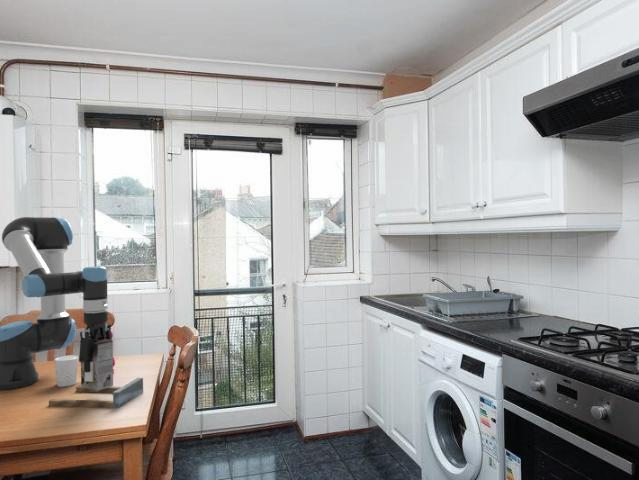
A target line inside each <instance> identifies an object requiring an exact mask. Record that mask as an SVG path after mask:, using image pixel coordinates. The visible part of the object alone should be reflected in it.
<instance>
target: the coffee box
mask: <svg viewBox="0 0 639 480" xmlns="http://www.w3.org/2000/svg"><path fill="white" fill-rule="evenodd" d="M79 342H81V340H80V341H79ZM113 342H114V340H113V339H112V340H109V339H98V340H97V342H94V343H92V345H93V356H92V361H91V362H93V372H94V381H92V382H89V381H85V372H84V362H80V378H81V379H80V381H81V382H80V386H81V387H83V388H88V389H92V390H96V391H99V390H102V389H105V388H108V387H114V374H113V369H114V367H113V357H114V354H113V353H114V348H113V347H114V346H113V345H114V343H113Z"/></svg>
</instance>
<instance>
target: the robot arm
mask: <svg viewBox="0 0 639 480" xmlns="http://www.w3.org/2000/svg"><path fill="white" fill-rule="evenodd" d="M73 239H74V234H73V228H72V226H71V224H70V222H69V221H68V220H67V219H66V218H62V217H41V216H40V217H39V216H38V217H34V216H33V217H32V216H24V217H19V218H16V219H14V220H12V221H10V222H9V223H7V225H6V226H5V227H4V229H3V231H2V233H1V241H2V244H3V246H4V248H5V249H7V251H9V252H11V254H12V256H13V258H14V259H15V261H16V263H17V264H18V265H17V266H18V267H19V269H20V270H21V272H22V274H23V276H24V277H23V278H22V283H21V284H22V285H21V289H22V293H23V295H24V296H25V297H26V298H40V314H39V315H38V316H37V317H36V323H35V322H34V323H33V321H31V320H19V321H14V322H10V323H6V324H4V325H2V326H0V390H1V391H3V390H12V389H20V388H23V387H27V386H30V385H32V384H35V383H37V382H39V379H40V378H39V373H38V371H37V368H36V366H35V364H34V354H35V353H43V352H47V351H52V350H61V349H64V348H68V347H69V346H71V345H72V344H73V342H74V341H75V338H76V332H77V325H76V321H75V320H74V319H73V318H71V317H70V314H69V312H67V311H66V295H70V294H71V295H72V294H82V301H83V304H82V310H83V312H84V313H83V324H85V325H86V328H85V331H80V332H79V336H80V341H81V342H80V341H79V342H80V343H79V355H78V363H79V362H80V363H81V362H84V372H85V381H89V382H92V381H94V372H93V362H91V361H92V356H93V345H92V343H94V342H97V340H98V339H109V340H113V337H112V338H111V332H112V325H111V324H106V323H107V322H108V321H109V312H108V311H107V310H108V309H109V308H108V270H107V268H106V266H86V267H84V268H83V269H82V271H81V270H80V271H75V272H65V262H64V260H65V259H64V254H65V253H66V252H67V251H68V249H69V248H68V247H69V246H71V245H72V244H73Z"/></svg>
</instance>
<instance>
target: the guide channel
mask: <svg viewBox="0 0 639 480" xmlns="http://www.w3.org/2000/svg"><path fill="white" fill-rule="evenodd" d="M75 392H77V393H80V392H81V393H108V394H109V393H111V394H112V400H99V399H97V400H93V399H91V400H90V399H59V398H58V399H57V398H52V399H50V400H48V407H80V408H109V409H110V408H112V409H113V408H114V409H119V408H121V407H123V406H124V405H126V404H127V403H129V402H130V401H131V400H134V399H135V398H137V396H139V395H140V394H142V393H143V392H144V377H137V378H134V379H133V380H132V381H129V382H128V383H127V384H125V385H123V386H111V387H108V388H105V389H102V390H99V391H96V390H92V389H88V388H83V387H81V385H78V386H76V387H75Z"/></svg>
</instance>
